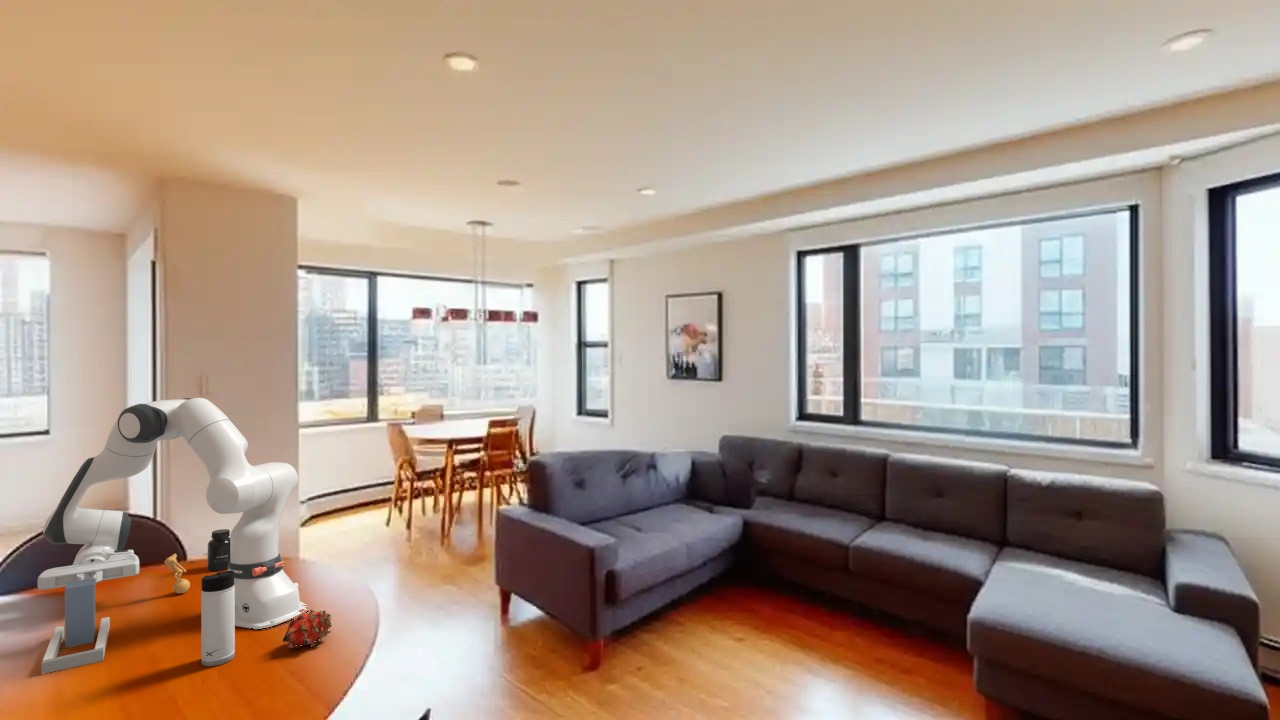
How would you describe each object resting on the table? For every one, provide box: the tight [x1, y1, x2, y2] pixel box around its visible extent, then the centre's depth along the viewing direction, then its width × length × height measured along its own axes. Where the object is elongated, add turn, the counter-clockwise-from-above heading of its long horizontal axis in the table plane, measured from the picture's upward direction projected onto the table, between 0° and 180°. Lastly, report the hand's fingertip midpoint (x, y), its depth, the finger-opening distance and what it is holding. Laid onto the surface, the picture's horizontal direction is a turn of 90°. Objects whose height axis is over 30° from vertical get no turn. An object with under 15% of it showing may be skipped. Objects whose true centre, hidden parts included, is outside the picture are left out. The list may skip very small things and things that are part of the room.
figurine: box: [163, 553, 191, 595], centre depth 176 cm, size 8×6×12 cm
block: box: [64, 578, 96, 649], centre depth 148 cm, size 5×5×14 cm
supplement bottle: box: [206, 528, 231, 572], centre depth 198 cm, size 7×7×12 cm
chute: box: [41, 616, 111, 675], centre depth 144 cm, size 22×10×2 cm, turn 38°
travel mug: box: [200, 570, 236, 667], centre depth 139 cm, size 6×7×20 cm
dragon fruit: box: [282, 608, 332, 649], centre depth 147 cm, size 8×8×12 cm
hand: (88, 581), depth 158 cm, fingers closed
